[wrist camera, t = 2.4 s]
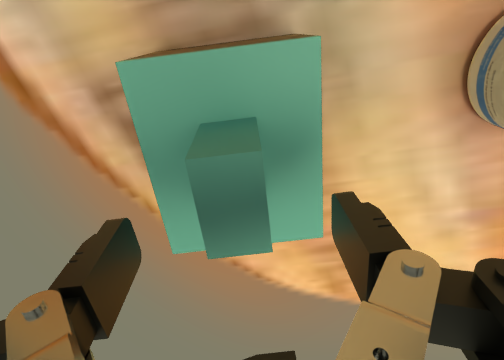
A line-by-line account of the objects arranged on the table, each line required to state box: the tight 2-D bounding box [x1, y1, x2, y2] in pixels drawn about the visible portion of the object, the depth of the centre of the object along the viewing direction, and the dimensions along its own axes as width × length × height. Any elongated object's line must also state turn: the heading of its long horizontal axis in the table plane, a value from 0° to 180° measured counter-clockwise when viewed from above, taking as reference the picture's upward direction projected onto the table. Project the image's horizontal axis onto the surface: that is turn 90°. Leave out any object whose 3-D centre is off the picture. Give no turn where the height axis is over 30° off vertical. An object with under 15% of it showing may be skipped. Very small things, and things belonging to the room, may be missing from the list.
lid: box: [115, 36, 323, 259], centre depth 16 cm, size 12×10×7 cm
